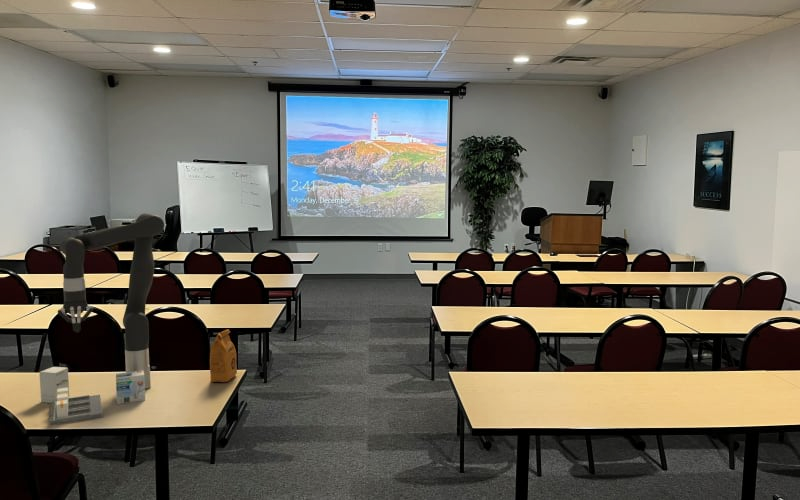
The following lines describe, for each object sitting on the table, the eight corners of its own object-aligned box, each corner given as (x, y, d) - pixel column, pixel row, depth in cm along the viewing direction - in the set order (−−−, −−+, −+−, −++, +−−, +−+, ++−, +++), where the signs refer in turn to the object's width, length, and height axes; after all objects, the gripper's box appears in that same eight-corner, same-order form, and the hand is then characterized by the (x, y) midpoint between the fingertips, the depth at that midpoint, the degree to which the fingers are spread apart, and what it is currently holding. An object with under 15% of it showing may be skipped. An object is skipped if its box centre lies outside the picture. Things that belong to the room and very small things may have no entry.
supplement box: (56, 403, 236) (54, 373, 234) (40, 402, 237) (38, 371, 236) (70, 397, 243) (68, 367, 242) (54, 395, 245) (52, 366, 243)
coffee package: (240, 375, 272) (239, 328, 269) (227, 384, 260) (226, 335, 257) (220, 373, 274) (219, 327, 271) (206, 382, 262) (205, 334, 259)
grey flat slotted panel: (100, 398, 242) (99, 393, 242) (102, 416, 223) (102, 411, 223) (52, 405, 234) (51, 400, 234) (50, 425, 215) (49, 420, 215)
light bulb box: (116, 404, 236) (115, 378, 234) (116, 399, 241) (115, 373, 240) (146, 400, 240) (144, 374, 239) (144, 394, 246) (143, 369, 245)
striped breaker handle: (68, 412, 222) (67, 399, 222) (67, 416, 219) (67, 403, 218) (57, 414, 221) (56, 401, 220) (57, 418, 217) (56, 404, 216)
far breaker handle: (68, 399, 235) (67, 387, 235) (68, 402, 232) (67, 390, 231) (58, 400, 234) (57, 388, 233) (58, 404, 230) (57, 391, 230)
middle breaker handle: (68, 405, 229) (67, 393, 228) (68, 409, 225) (67, 396, 225) (57, 407, 227) (57, 394, 226) (57, 410, 224) (56, 398, 223)
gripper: (93, 285, 239) (95, 327, 241) (55, 288, 232) (57, 331, 234) (93, 289, 232) (96, 332, 234) (54, 291, 226) (57, 336, 228)
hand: (76, 331), depth 234 cm, fingers closed
